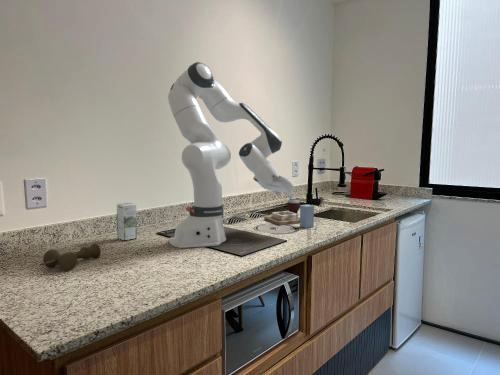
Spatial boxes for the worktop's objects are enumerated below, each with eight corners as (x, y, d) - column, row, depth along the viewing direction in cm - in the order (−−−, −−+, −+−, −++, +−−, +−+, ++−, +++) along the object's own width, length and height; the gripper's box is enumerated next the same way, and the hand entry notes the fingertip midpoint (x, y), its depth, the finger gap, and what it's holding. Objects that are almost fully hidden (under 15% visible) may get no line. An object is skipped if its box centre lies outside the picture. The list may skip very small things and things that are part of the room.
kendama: (106, 260, 127) (50, 277, 110) (88, 257, 132) (30, 272, 114) (106, 243, 126) (49, 256, 109) (87, 240, 131) (29, 253, 114)
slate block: (306, 228, 174) (306, 206, 173) (299, 226, 178) (300, 205, 176) (313, 227, 176) (314, 205, 175) (307, 225, 180) (307, 204, 179)
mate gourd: (302, 214, 207) (302, 187, 206) (291, 215, 203) (291, 188, 201) (293, 212, 213) (293, 186, 212) (282, 213, 209) (282, 186, 207)
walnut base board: (279, 225, 179) (279, 217, 179) (264, 219, 192) (264, 212, 192) (305, 222, 186) (305, 214, 185) (289, 217, 199) (289, 209, 198)
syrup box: (130, 236, 157) (129, 202, 156) (137, 239, 153) (136, 203, 152) (117, 239, 153) (116, 203, 152) (124, 241, 149) (122, 205, 148)
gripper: (286, 170, 155) (304, 192, 161) (259, 168, 172) (276, 188, 178) (277, 182, 153) (295, 204, 159) (250, 178, 170) (268, 198, 177)
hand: (285, 195), depth 169 cm, fingers open, 8 cm apart
